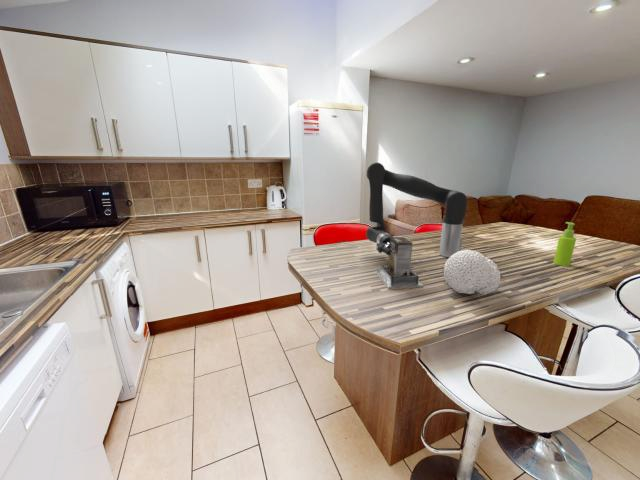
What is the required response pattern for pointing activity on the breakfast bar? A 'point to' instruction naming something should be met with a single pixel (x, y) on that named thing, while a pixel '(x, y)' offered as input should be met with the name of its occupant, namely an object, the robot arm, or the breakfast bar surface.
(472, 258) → the white coral
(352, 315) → the breakfast bar surface
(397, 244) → the coffee box
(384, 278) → the clip bracket
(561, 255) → the soap dispenser
